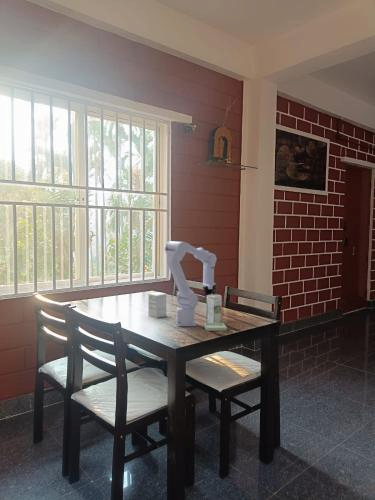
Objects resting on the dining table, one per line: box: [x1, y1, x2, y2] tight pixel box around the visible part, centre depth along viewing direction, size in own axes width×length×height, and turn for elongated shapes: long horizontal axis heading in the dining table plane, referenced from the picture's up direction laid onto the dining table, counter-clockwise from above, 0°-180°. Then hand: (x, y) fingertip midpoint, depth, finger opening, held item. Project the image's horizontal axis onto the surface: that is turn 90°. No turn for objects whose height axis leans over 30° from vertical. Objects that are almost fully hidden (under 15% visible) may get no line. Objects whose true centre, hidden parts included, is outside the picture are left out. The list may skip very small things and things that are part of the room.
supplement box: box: [147, 291, 167, 319], centre depth 203 cm, size 7×7×13 cm
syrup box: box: [205, 293, 223, 323], centre depth 191 cm, size 6×6×14 cm
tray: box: [203, 322, 228, 332], centre depth 182 cm, size 10×9×1 cm
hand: (207, 300), depth 198 cm, fingers closed
